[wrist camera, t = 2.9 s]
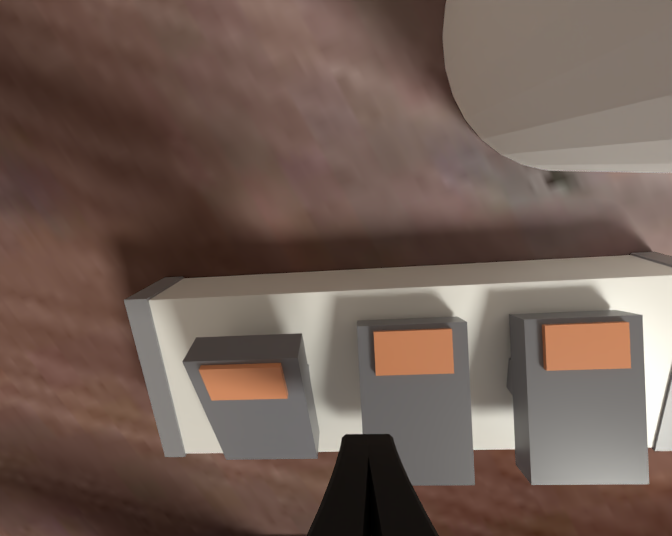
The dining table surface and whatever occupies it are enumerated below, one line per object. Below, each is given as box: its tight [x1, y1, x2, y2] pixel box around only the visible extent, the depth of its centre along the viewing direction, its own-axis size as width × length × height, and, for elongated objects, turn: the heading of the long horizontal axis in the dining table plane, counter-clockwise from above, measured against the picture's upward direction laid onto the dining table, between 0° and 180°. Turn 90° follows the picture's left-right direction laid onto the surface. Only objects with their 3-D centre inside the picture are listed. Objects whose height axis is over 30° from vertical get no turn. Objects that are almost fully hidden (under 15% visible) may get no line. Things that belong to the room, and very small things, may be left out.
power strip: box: [124, 252, 672, 457], centre depth 15 cm, size 8×29×4 cm, turn 94°
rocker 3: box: [509, 310, 649, 485], centre depth 12 cm, size 6×4×1 cm, turn 4°
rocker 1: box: [182, 333, 320, 460], centre depth 13 cm, size 6×4×1 cm, turn 4°
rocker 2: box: [357, 316, 475, 485], centre depth 13 cm, size 6×4×1 cm, turn 4°
